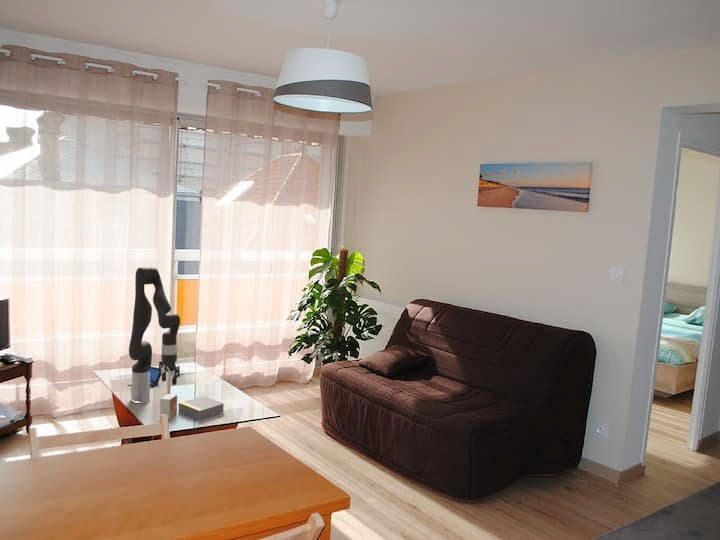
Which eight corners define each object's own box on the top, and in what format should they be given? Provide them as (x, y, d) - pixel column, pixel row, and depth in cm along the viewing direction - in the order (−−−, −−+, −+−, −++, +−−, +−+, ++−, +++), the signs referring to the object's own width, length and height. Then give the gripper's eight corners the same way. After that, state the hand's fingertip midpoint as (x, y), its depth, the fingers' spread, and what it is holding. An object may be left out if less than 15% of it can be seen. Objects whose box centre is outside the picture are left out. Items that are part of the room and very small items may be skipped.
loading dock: (178, 412, 321) (178, 402, 321) (202, 404, 334) (202, 395, 334) (199, 420, 311) (199, 410, 311) (223, 412, 324) (223, 402, 324)
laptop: (126, 385, 360) (126, 370, 359) (142, 379, 372) (142, 364, 371) (147, 389, 354) (148, 374, 353) (163, 383, 366) (163, 368, 365)
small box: (169, 419, 311) (169, 399, 309) (159, 418, 312) (159, 398, 311) (177, 414, 319) (177, 394, 317) (167, 412, 320) (167, 393, 318)
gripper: (154, 351, 312) (154, 381, 314) (171, 356, 304) (171, 387, 306) (166, 348, 318) (166, 378, 320) (184, 353, 310) (183, 384, 312)
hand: (169, 383), depth 313 cm, fingers open, 8 cm apart
